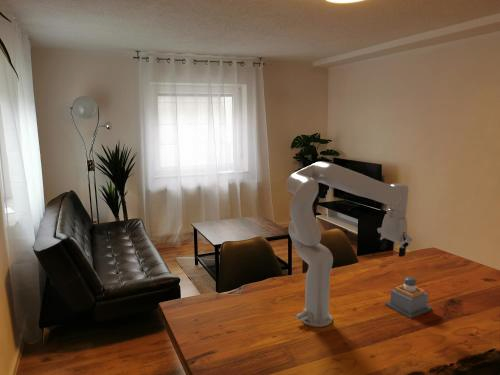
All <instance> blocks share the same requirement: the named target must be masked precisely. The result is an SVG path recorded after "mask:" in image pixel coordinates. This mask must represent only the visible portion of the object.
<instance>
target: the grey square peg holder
mask: <svg viewBox="0 0 500 375" xmlns="http://www.w3.org/2000/svg"><path fill="white" fill-rule="evenodd" d="M428 299H429V293H427V292H425V290H424V289H422V288H421V287H418V286H416V292H415V293H412V294H410V293H408V292H406V291H404V283H403V284H401V285H398V286H394V289H392V290H391V291H390V300H389V301H387V302H385V303H384V306H386V307H388V308H390V309H391V310H394V311H395V312H398V313H399V314H401V315H403V316H405V317H407V318H409V319H412V318H414V317H418V316H420V315H422V314H425V313H426V312H427V313H428V312H429V311H432V310H433V307H432V306H430V305H428Z"/></svg>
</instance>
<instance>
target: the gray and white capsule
mask: <svg viewBox="0 0 500 375" xmlns="http://www.w3.org/2000/svg"><path fill="white" fill-rule="evenodd" d="M417 283H418V282H417V278H415V277H413V276H405V277H404V280H403V284H404V291H406V292H408V293H410V294H412V293H415V292H416V287H417Z"/></svg>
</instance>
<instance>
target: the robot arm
mask: <svg viewBox="0 0 500 375" xmlns="http://www.w3.org/2000/svg"><path fill="white" fill-rule="evenodd" d="M319 183H320V184H323V185H326V186H329V187H330V188H331V187H332V188H333V189H338V190H341V191H343V192H345V193H350V194H352V195H355V196H358V197H362V198H367V199H370V200H373V201H375V202H378V203H382V204H385V205H387V206H386V208H385V211H386V214H384V217H383V219H382V224H381V227H377V233H378V237H379V240H380V249H379V250H387V247H388V240H389V241H391V242H394V243H398V244H399V246H400V247H399V249H398V257H399V258H401V257H405V256H406V250H407V248H408V247H409V246H410V245H411V243H412V242H413V239H412V237H411V236H410V235H409V234H408V219H407V218H406V216H407V206H408V200H409V199H408V198H409V186H408V185H407V184H404V183H386V182H383V181H380V180H377V179H375V178H372V177H370V176H367V175H365V174H363V173H360V172H357V171H354V170H352V169H350V168H346V167H343V166H341V165H339V164H335V163H331V162H327V161H322V160H321V161H316V162H315V163H312V164H311V165H308V166H306V167H304V168H301V169H300V170H298V171H295V172H293V173H292V174H291V175H290V176H289V177H288V178H287V179H286V184H285V185H286V189H287V190H288V192H289V193H290V194H292V195H293V196H292V199H291V200H290V204H289V215H290V218H291V219H290V222H289V224H288V229H287V230H288V234H289V236H290V240H291V241H292V242H291V243H292V244H293V246H294V249H295V251H296V253H297V255H298V256H299V258H300V259H302V260H303V261H304V262H305V263H307V265H308V268H307V271H306V273H305V274H306V275H305V290H304V291H305V295H304V296H305V297H304V298H305V300H304V305H305V306H304V308H303V309H302V312H300V313H297V314H295V316H294V317H295V319H296V320H297V321H299V320H301V321H302V322H303V323H304V324H305V325H308V326H309V327H314V328H315V327H316V328H323V327H327V326H330V325H331V324H332V322H333V316H332V313H329V311H330V289H331V288H330V287H331V286H330V280H331V271H332V267H333V263H334V257H333V254H332V252H331V251H330V249H329V248H328V247H327V246H325V245H323V244H322V243H320V242H321V239H322V233H321V229H320V227H319V224H318V222H317V219H316V217H315V214H314V210H313V204H314V202H315V200H316V198H317V196H318V194H319V189H320V188H319V187H320V186H319Z"/></svg>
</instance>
